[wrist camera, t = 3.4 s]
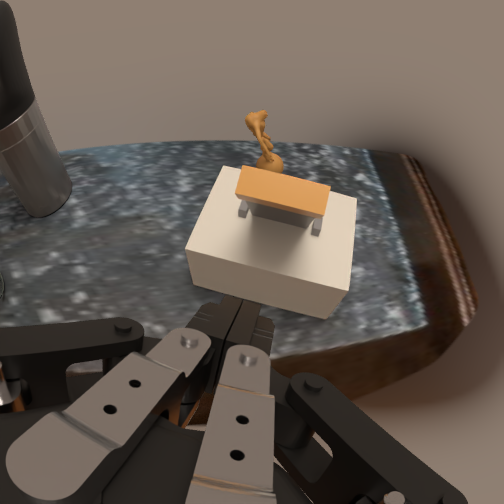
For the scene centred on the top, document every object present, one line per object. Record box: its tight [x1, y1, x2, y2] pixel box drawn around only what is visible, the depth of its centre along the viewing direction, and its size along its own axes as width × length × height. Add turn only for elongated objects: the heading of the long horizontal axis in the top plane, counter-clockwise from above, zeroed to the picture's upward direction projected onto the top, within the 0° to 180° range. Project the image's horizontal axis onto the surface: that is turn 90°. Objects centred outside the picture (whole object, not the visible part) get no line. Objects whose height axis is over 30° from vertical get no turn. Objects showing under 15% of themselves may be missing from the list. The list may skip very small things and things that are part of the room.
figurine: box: [245, 110, 283, 174], centre depth 41 cm, size 8×6×12 cm
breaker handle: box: [235, 165, 331, 229], centre depth 26 cm, size 2×6×12 cm
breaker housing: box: [185, 166, 357, 319], centre depth 35 cm, size 12×16×9 cm
